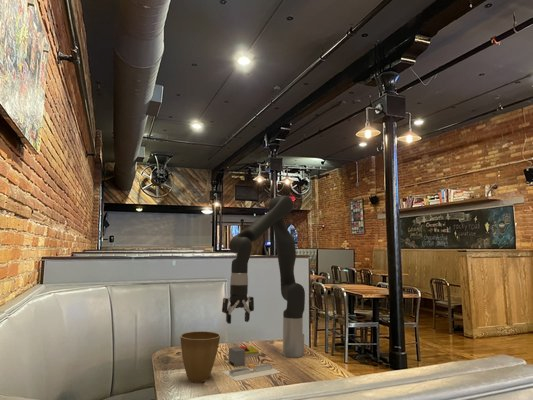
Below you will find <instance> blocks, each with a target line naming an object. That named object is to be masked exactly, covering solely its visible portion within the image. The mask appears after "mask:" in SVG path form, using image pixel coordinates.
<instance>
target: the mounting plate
mask: <svg viewBox="0 0 533 400" xmlns="http://www.w3.org/2000/svg"><path fill="white" fill-rule="evenodd" d="M264 364H265V363H264ZM264 364H263V363H262V364H261V365H264ZM258 365H259V364H258ZM258 365H257V364H256V365H255V366H258ZM241 368H242V367H240V368H238V369H241ZM244 368H248V366H246V367H245V366H244ZM235 369H236V368H235ZM235 369H234V368H233V369H232V370H235ZM249 369H250V368H249ZM230 370H231V369H230ZM230 370H224V371H221V373H222V374H223V375H225V376H227V377H228V378H230V379H232V380H233V381H235V383H236V382H241V381H246V380H251V379H256V378H261V377H266V376H271V375H277V374H281V373H282V372H281V371H279V370H277V369H275V368H274V367H272V369H270V370H265V371H260V372H255V371H253V368H252V369H250V373H249V374H244V375H238V376H233V377H232V376H231V375H229V371H230Z"/></svg>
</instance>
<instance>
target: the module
mask: <svg viewBox="0 0 533 400" xmlns="http://www.w3.org/2000/svg"><path fill="white" fill-rule="evenodd" d="M240 347H241V346H232V347H228V354H229V356H228V362H227V363H228V364H229V365H231V364H233V367H234V368H237V367H243V366H244V367H245V366H246V365H245V364H246V357H245V350H244V349H242V348H240Z"/></svg>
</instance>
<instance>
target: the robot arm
mask: <svg viewBox="0 0 533 400" xmlns="http://www.w3.org/2000/svg"><path fill="white" fill-rule="evenodd" d="M293 208H294V201H293V199H292V198H291V197H290V196H289V195H279V196H276V197H272V198H271V199H270V200H269V203H268V211H267V212H266V213H265V214H263V215H262V216H259V217H258V218H256V219H255V220H254V221H253V222H252V223H251V224H249V226H247V227H246V228H245V229H244V230H242V231H241V232H239V233H237V234H236V235H235V236H233V237H232V238H231V239H230V241H229V243H228V249H229V251H230V252H232V253H233V254H237V255H236V258H234V259H232V260H231V269H230V270H231V273H230V279H229V280H230V281H229V282H230V283H229V287H230V288H229V298H228V297H223V299H222V307H221V308H222V309H221V312H222V313H224V314H225V316H226V317H225V318H226V319H225V322H226V323H227V324H231V323H232V312H233V311H234V310H235V309H239V308H241V309H243V310H244V322H246V323H248V322H249V321H250V317H251V316H250V314H251V312H254V310H255V302H254V299H255V298H254V296H248V290H249V289H248V288H249V287H248V286H249V275H248V266H249V265H248V264H249V260H250V257H251V252H252V243H254V242H256V241H257V240H259V238H260V237H261V236H263V234H265V232H267V231H268V230H269V228H271V227H272V228H273V234H274V235H273V236H274V241H275V247H276V255H277V263H278V267H279V276H280V280H279V281H280V293H281V297H282V298H283V300H285V301H286V308H285V309H284V310H283V313H282V315H283V318H282V356H284V357H287V358H293V359H294V358H301V357H302V356H305V334H304V333H303V331H304V330H303V325H304V324H303V320H304V319H303V316H304V312H305V307H306V306H305V304H306V303H305V302H306V291H305V288H304V286H303V285H302V284H300V283H297V282H296V278H295V273H294V272H295V269H294V268H295V263H296V258H297V249H296V244H295V243H296V242H295V239H294V238H293V236H292V233H291V232H290V231H289V229H288V227H287V226H286V222H285V216H286V215H288V214H290V213H291V212H292V210H293ZM247 302H248V304H247Z"/></svg>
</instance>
